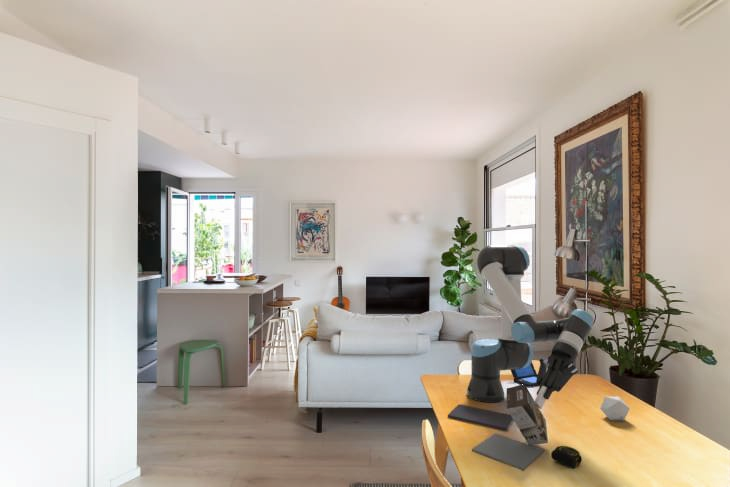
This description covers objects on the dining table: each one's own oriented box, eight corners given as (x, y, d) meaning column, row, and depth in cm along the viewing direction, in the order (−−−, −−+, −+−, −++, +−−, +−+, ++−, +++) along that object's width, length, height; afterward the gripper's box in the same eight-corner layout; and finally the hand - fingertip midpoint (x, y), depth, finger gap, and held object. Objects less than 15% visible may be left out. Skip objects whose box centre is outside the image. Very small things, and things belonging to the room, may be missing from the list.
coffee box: (549, 443, 124) (526, 405, 120) (528, 446, 127) (505, 409, 123) (546, 419, 131) (525, 383, 128) (527, 422, 134) (505, 387, 131)
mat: (471, 450, 123) (471, 448, 123) (495, 434, 134) (495, 433, 134) (523, 470, 112) (523, 468, 112) (544, 451, 123) (544, 449, 123)
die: (628, 427, 142) (637, 402, 146) (605, 413, 144) (614, 389, 147) (615, 426, 150) (623, 403, 153) (593, 413, 152) (601, 390, 155)
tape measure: (549, 461, 117) (549, 449, 117) (562, 455, 121) (562, 442, 121) (573, 472, 112) (573, 459, 112) (585, 465, 115) (585, 452, 116)
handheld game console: (528, 388, 183) (528, 367, 183) (506, 379, 195) (506, 360, 195) (552, 383, 190) (552, 363, 190) (529, 375, 202) (529, 357, 202)
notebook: (447, 419, 148) (507, 433, 137) (447, 414, 148) (507, 428, 137) (458, 407, 159) (515, 419, 148) (458, 403, 159) (515, 415, 148)
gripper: (590, 358, 133) (561, 419, 123) (554, 352, 144) (525, 407, 134) (580, 343, 131) (550, 403, 120) (545, 338, 142) (514, 393, 131)
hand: (537, 405), depth 127 cm, fingers closed
